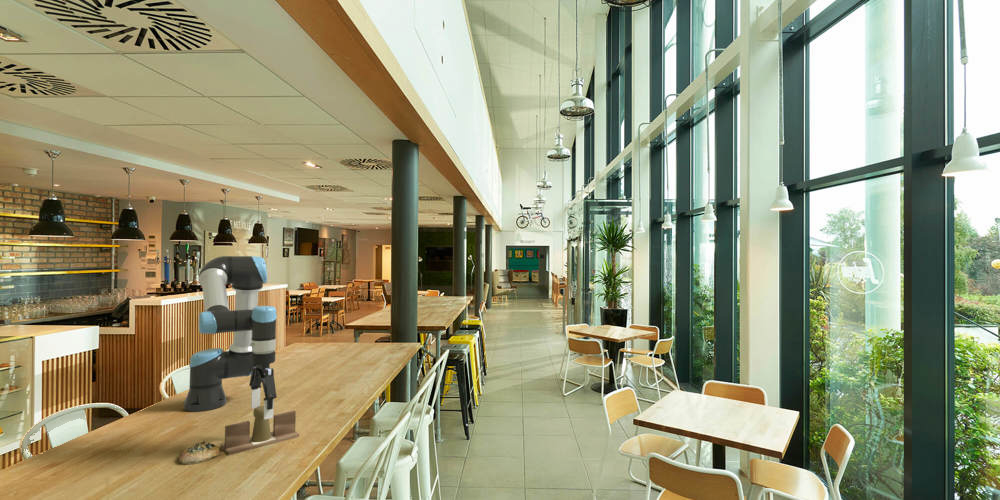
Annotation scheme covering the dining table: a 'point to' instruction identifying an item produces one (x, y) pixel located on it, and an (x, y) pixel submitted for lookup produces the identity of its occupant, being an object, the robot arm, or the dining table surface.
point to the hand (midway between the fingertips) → (261, 413)
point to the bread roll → (199, 453)
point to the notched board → (241, 440)
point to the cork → (260, 426)
